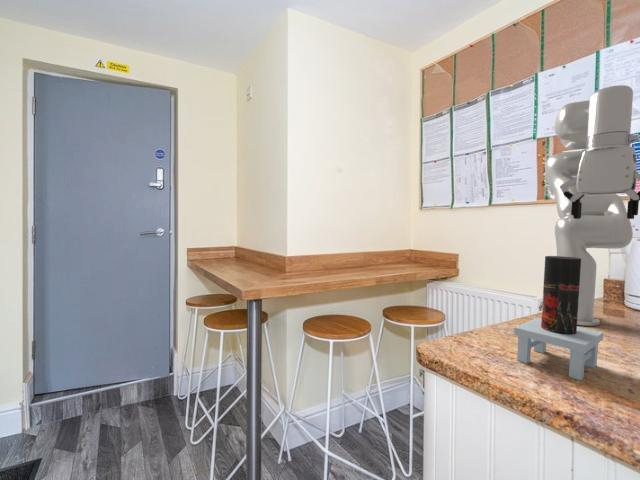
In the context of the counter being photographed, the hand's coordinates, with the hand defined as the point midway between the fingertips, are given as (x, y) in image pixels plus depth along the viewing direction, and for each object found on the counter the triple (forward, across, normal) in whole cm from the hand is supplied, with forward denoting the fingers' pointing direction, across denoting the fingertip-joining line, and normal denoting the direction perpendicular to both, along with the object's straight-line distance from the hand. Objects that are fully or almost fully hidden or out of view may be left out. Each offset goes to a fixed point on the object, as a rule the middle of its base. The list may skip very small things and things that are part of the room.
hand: (602, 218), depth 77 cm
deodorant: (+24, +2, +19) cm, 30 cm away
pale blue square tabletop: (+30, +2, +19) cm, 36 cm away
